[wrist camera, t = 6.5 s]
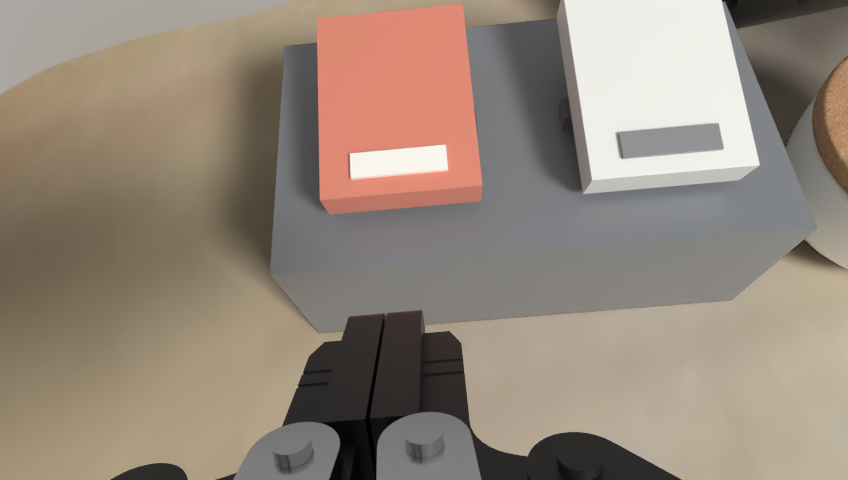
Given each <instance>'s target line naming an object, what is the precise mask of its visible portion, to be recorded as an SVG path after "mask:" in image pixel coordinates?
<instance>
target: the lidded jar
mask: <svg viewBox="0 0 848 480" xmlns="http://www.w3.org/2000/svg"><path fill="white" fill-rule="evenodd" d="M786 151H787V154H788V156H789V159H790V161H791V164H792V166H793V169H794V171H795V173H796V176H797V178H798V181H799V183H800V186H801V188H802V191H803V193H804V195H805V198H806V200H807V203H808V205H809V208H810V210H811V212H812V215H813V217H814V220H815V222H816V225H817V227H818V228H817V229H816V230H815V231H814V232H812V233H811V234H810V235H809V236H808V237H806V238H805V239H804V240H805V241H806V242H807V243H808V244H809V245H810V246H811V247H812V248H813V249H814V250H815V251H817V252H818V253H820V254H821V255H822V256H824V257H825V258H827V259H829V260H831V261H833V262H835V263H836V264H838V265H840V266H842V267H844V268H846V269H848V56H847V57H846V58H845V59H844V60H843V61H842V62H841V63H840V64H839V65H838V66H837V67H836V68H835V69H834V70H833V71H832V72H831V74H830V75H829V76H828V78H827V79H826V81H825V82H824V84H823V85H822V87H821V88H820V90H819V92H818V94H817V95H816V97H815V98H814V99H813V101H812V102H811V103H810V105H809V106H808V107H807V109H806V110H805V112H804V113H803V115H802V116H801V118H800V119H799V121H798V123H797V125H796V126H795V128H794V130H793V132H792V134H791V136H790V139H789V142H788V144H787V147H786Z"/></svg>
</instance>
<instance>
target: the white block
mask: <svg viewBox="0 0 848 480" xmlns="http://www.w3.org/2000/svg"><path fill="white" fill-rule="evenodd" d="M556 17H557V24H558V30H559V37H560V44H561V50H562V57H563V64H564V70H565V77H566V84H567V90H568V97H569V104H570V111H571V117H572V124H573V131H574V137H575V144H576V151H577V157H578V164H579V171H580V178H581V184H582V191H583V194H590V193H602V192H613V191H624V190H635V189H647V188H658V187H669V186H681V185H692V184H703V183H714V182H726V181H737V180H740V179H741V178H743V177H744V176H746V175H747V174H748V173H750V172H751V171H752V170H754V169H755V168H757V167H758V166H759V165H760V164H759V159H758V155H757V151H756V146H755V142H754V138H753V133H752V129H751V125H750V120H749V116H748V112H747V108H746V103H745V99H744V95H743V90H742V86H741V82H740V77H739V73H738V69H737V65H736V60H735V56H734V52H733V47H732V43H731V39H730V34H729V30H728V26H727V21H726V17H725V13H724V9H723V4H722V0H561V1H560V5H559V9H558V12H557V16H556Z"/></svg>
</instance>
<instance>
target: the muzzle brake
mask: <svg viewBox="0 0 848 480" xmlns="http://www.w3.org/2000/svg"><path fill="white" fill-rule="evenodd" d="M722 2H725V3H726V5H727V7H728V10H729V12H730V15H731V17H732V20H733V22H734V25H735V27H736V29H738V28H743V27H747V26H752V25H757V24H761V23H765V22H770V21H775V20H780V19H784V18H790V17H795V16H800V15H804V14H809V13H814V12H819V11H824V10H828V9H833V8H838V7H842V6H847V5H848V0H722Z"/></svg>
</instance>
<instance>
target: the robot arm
mask: <svg viewBox="0 0 848 480" xmlns="http://www.w3.org/2000/svg"><path fill="white" fill-rule="evenodd" d="M111 480H188V479H187V476H186V474H185V472H184V471H183V470H182V469H181V468H180V467H178V466H176V465H172V464H166V463H155V464H149V465H144V466H140V467H137V468H134V469H131V470H129V471H126V472H124V473H122V474H120V475H118V476H116V477H114V478H113V479H111ZM217 480H681V479H679V478H678V477H676V476H674V475H672V474H670V473H668V472H667V471H665V470H663V469H661V468H659V467H657V466H655V465H654V464H652V463H650V462H648V461H646V460H644V459H643V458H641V457H639V456H637V455H635V454H633V453H632V452H630V451H628V450H626V449H624V448H622V447H621V446H619V445H617V444H615V443H613V442H611V441H609V440H607V439H605V438H603V437H600V436H597V435H593V434H588V433H580V432H567V433H560V434H556V435H552V436H550V437H547V438H545V439H543V440H541V441H540V442H538V443H537V444H536V445H535V446H534V447H533V448H532V449H531V451H530V453H529V455H528V457H526V456H520V455H514V454H509V453H504V452H501V451H498V450H496V449H493V448H491V447H489V446H488V445H486V444H485V443H483V442H482V441H481V440H479V439H478V438H477V437H476V435H475V434H474V433H473V431H472V429H471V426H470V422H469V412H468V403H467V394H466V384H465V375H464V365H463V356H462V347H461V343H460V342H459V340H458V339H457V338H456V337H455V336H454V335H453V334H452V333H451V332H450V331H446V332H435V333H425V326H424V318H423V312H422V310H415V311H403V312H392V313H387V314H386V315H385V313H382V314H371V315H359V316H349V318H348V320H347V324H346V327H345V331H344V334H343V337H342V341H332V342H324V343H323V344H322V345H321V346H320V347H319V348H318V349H317V350H316V351H315V352H313V353H312V354H311V355H310V356H309V358H308V361H307V364H306V366H305V369H304V371H303V375H302V376H301V379H300V382H299V384H298V388H297V389H296V392H295V395H294V397H293V400H292V402H291V405H290V407H289V410H288V413H287V415H286V418H285V420H284V423H283V425H282V427H280V428H278V429H275V430H273V431H271V432H269V433H268V434H266V435H265V436H263V437H262V438H261V439H259V440H258V441H257V442H256V443H255V444H254V445H253V446H252V447H251V449H250V450H249V452H248V454H247V455H246V457H245V459H244V461H243V463H242V464H241V466H240V468H239V470H238V472H237V473H235V474H232V475H229V476H226V477H223V478H220V479H217Z"/></svg>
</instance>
